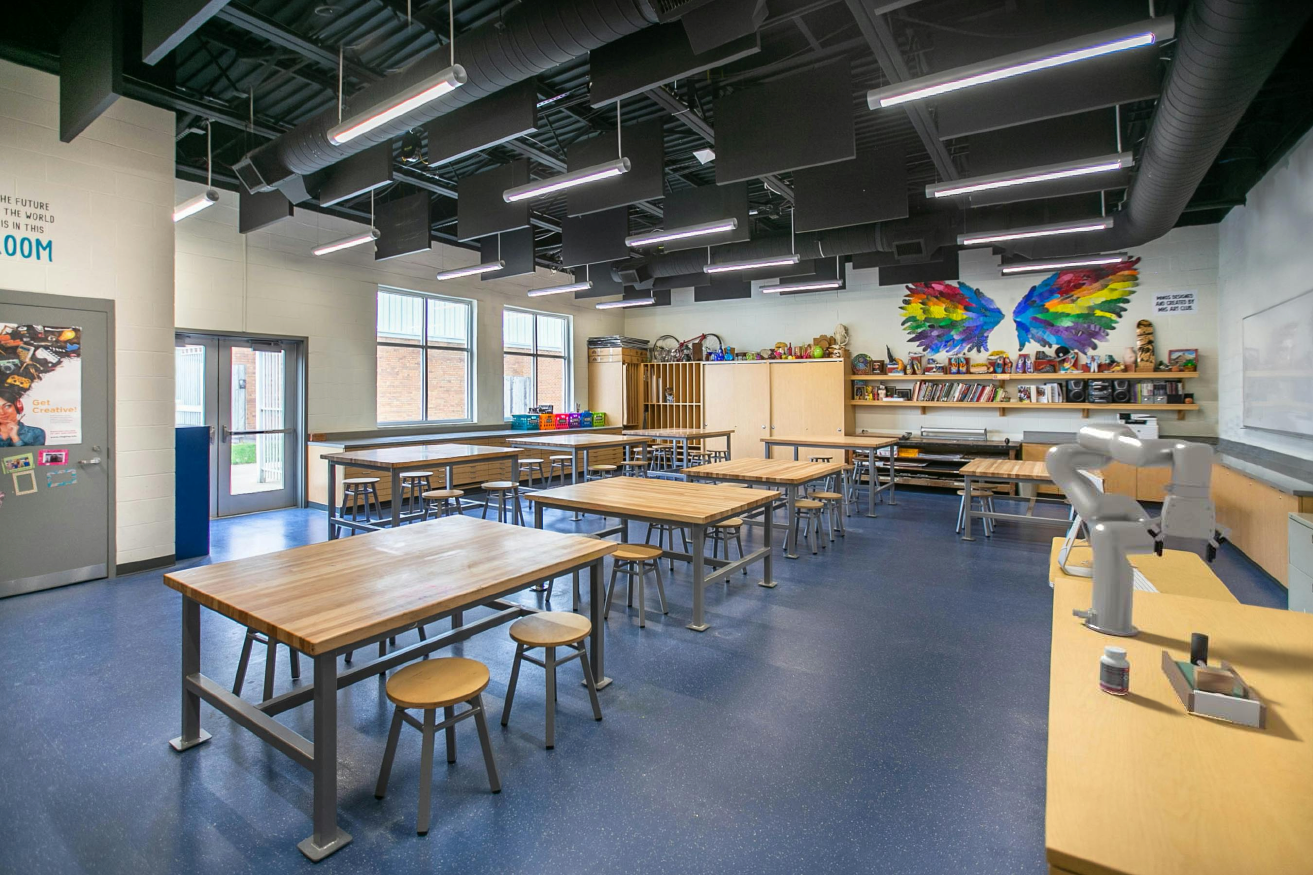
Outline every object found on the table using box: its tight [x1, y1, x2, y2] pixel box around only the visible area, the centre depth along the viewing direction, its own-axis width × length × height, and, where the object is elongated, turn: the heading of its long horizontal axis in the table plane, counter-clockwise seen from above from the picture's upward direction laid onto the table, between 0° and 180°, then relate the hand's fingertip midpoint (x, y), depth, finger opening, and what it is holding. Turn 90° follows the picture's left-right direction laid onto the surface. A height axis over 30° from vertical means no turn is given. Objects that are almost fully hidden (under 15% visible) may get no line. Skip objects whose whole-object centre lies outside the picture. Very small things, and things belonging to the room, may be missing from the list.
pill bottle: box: [1098, 645, 1131, 694], centre depth 138 cm, size 5×5×10 cm
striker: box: [1189, 632, 1234, 695], centre depth 138 cm, size 6×15×8 cm, turn 150°
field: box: [1160, 650, 1268, 730], centre depth 136 cm, size 12×26×5 cm, turn 150°
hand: (1183, 558), depth 153 cm, fingers open, 9 cm apart
